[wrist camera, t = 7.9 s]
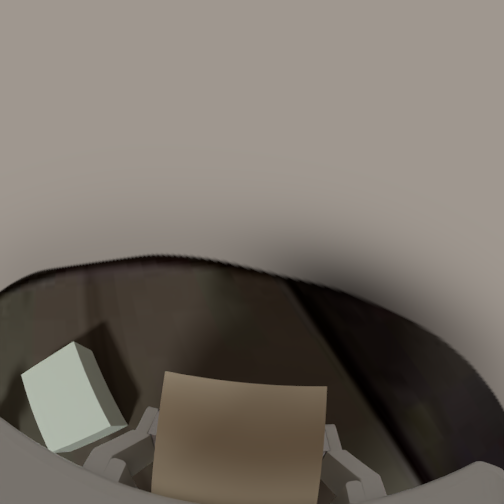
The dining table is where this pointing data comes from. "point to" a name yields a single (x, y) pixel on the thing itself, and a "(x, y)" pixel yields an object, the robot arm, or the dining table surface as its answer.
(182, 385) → the birch block
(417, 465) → the dining table surface
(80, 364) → the sage block
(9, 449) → the robot arm
